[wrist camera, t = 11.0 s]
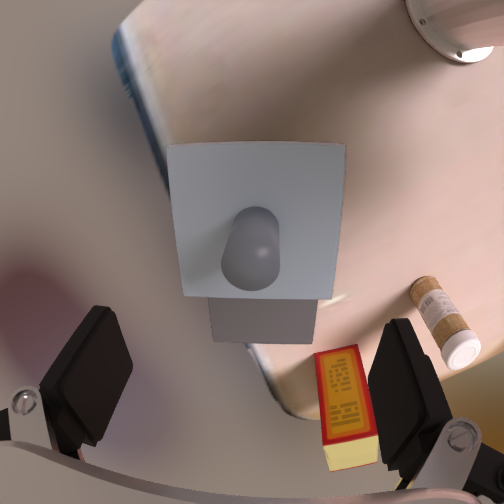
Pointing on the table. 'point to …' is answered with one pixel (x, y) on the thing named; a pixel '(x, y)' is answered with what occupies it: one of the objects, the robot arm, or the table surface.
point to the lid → (257, 217)
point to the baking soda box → (345, 409)
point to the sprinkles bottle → (445, 323)
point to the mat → (263, 320)
